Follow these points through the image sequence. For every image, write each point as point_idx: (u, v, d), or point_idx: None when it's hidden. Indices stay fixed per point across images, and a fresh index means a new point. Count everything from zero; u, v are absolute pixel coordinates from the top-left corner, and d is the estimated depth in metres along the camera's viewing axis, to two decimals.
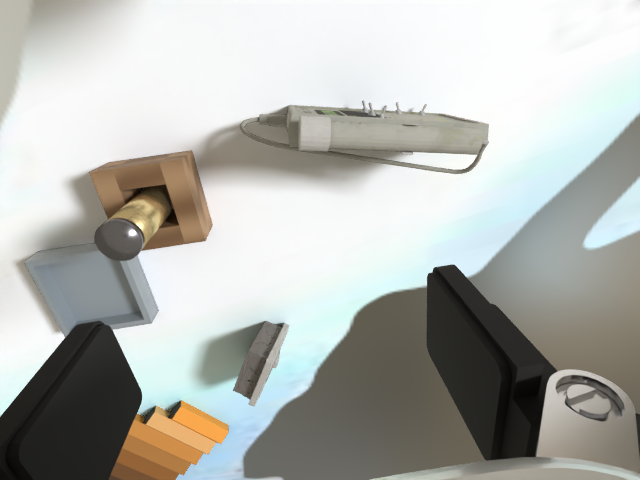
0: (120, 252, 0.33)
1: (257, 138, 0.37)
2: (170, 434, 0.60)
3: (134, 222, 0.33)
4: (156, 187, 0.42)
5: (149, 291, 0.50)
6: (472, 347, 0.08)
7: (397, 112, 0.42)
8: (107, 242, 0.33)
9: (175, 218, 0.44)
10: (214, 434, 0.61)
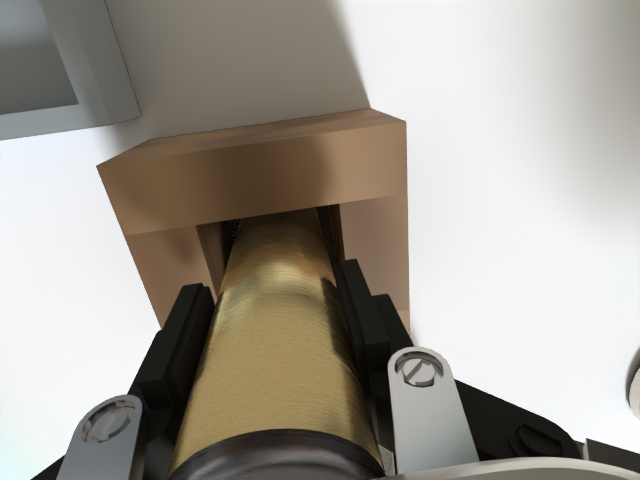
0: None
1: None
2: None
3: None
4: None
5: None
6: (349, 330, 0.09)
7: None
8: None
9: None
10: None
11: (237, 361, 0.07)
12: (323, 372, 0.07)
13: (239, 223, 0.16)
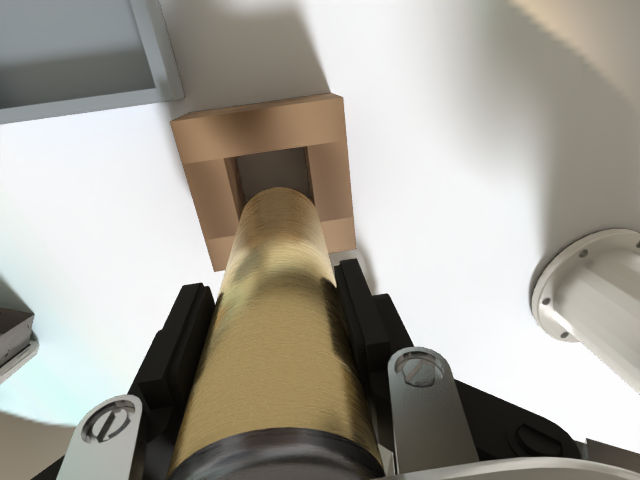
0: None
1: None
2: None
3: None
4: None
5: None
6: (349, 330, 0.09)
7: None
8: None
9: (241, 203, 0.26)
10: None
11: (237, 361, 0.07)
12: (323, 370, 0.07)
13: (239, 223, 0.16)
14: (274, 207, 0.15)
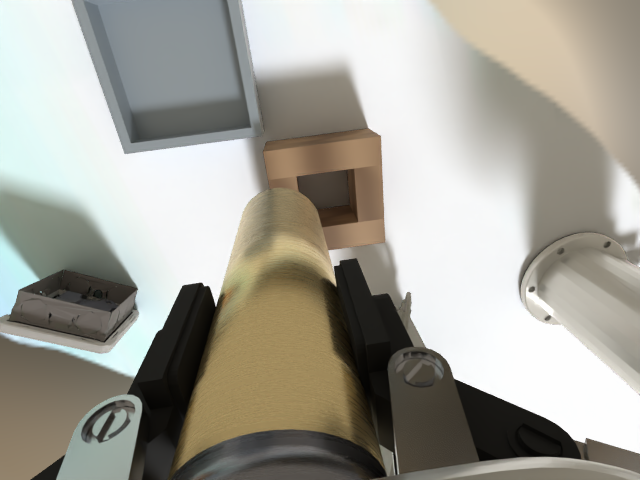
0: None
1: (407, 326, 0.36)
2: None
3: None
4: None
5: None
6: (349, 330, 0.09)
7: None
8: None
9: None
10: None
11: (238, 362, 0.07)
12: (325, 373, 0.07)
13: (240, 223, 0.16)
14: (275, 208, 0.15)
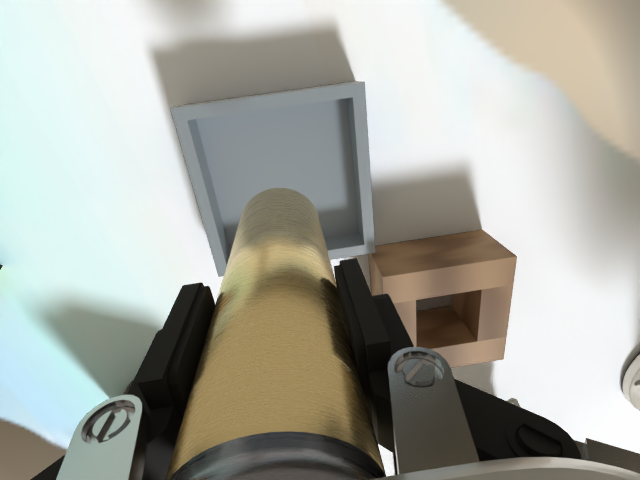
0: None
1: None
2: None
3: None
4: None
5: None
6: (349, 330, 0.09)
7: None
8: None
9: None
10: None
11: (237, 364, 0.07)
12: (323, 374, 0.07)
13: (239, 223, 0.16)
14: (274, 208, 0.15)
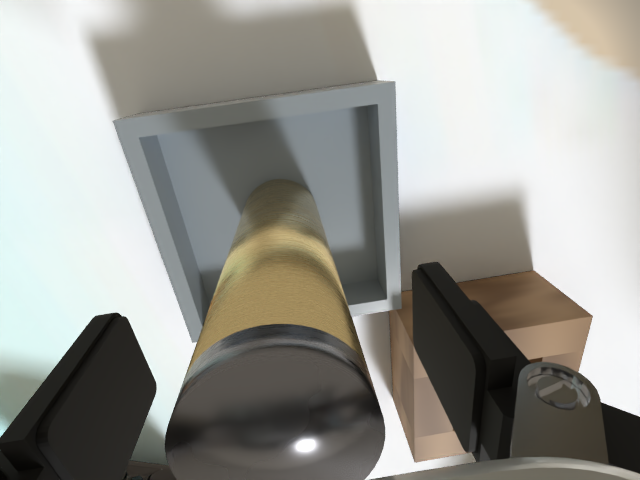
0: (218, 451, 0.06)
1: None
2: None
3: None
4: None
5: None
6: (451, 341, 0.08)
7: None
8: (275, 408, 0.06)
9: None
10: None
11: (245, 289, 0.08)
12: (317, 296, 0.08)
13: None
14: (276, 192, 0.16)
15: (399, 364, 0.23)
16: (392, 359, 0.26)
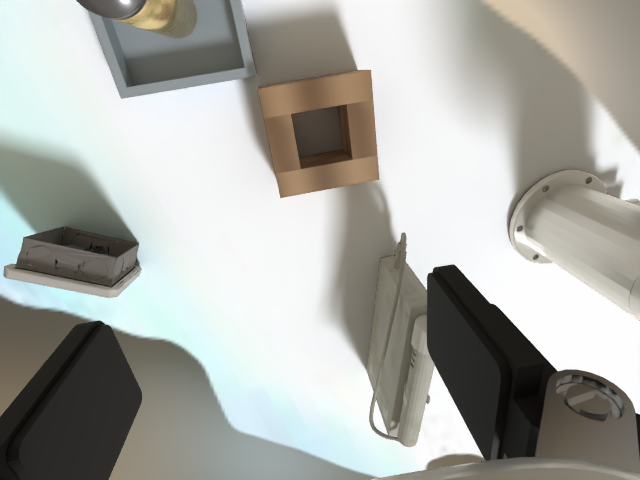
0: None
1: (403, 262, 0.37)
2: None
3: (144, 6, 0.20)
4: (189, 12, 0.28)
5: None
6: (472, 347, 0.08)
7: None
8: None
9: None
10: None
11: None
12: None
13: None
14: None
15: None
16: None
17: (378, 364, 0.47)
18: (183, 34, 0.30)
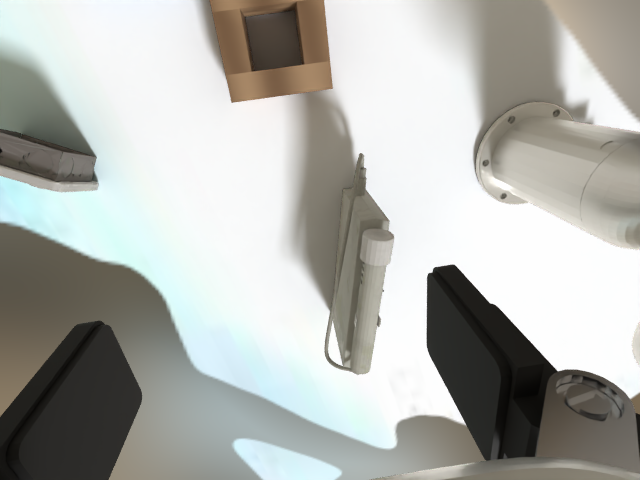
0: None
1: (357, 178, 0.37)
2: None
3: None
4: None
5: None
6: (472, 347, 0.08)
7: None
8: None
9: (251, 58, 0.36)
10: None
11: None
12: None
13: None
14: None
15: None
16: None
17: (339, 299, 0.47)
18: None
